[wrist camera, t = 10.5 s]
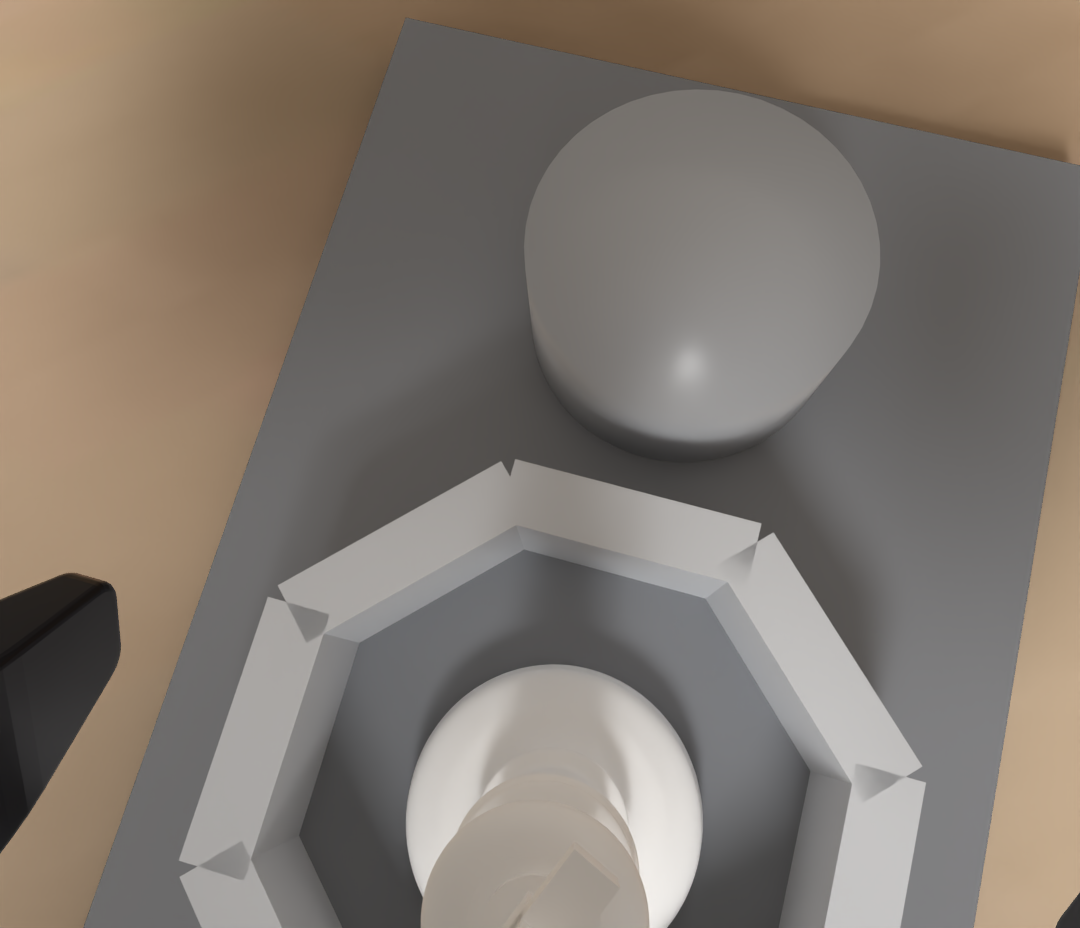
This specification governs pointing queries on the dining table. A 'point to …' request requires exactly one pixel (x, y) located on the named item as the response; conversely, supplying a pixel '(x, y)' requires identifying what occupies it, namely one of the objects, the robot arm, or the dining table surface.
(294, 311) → the dining table surface
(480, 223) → the carrier plate
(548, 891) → the chess piece
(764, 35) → the dining table surface
